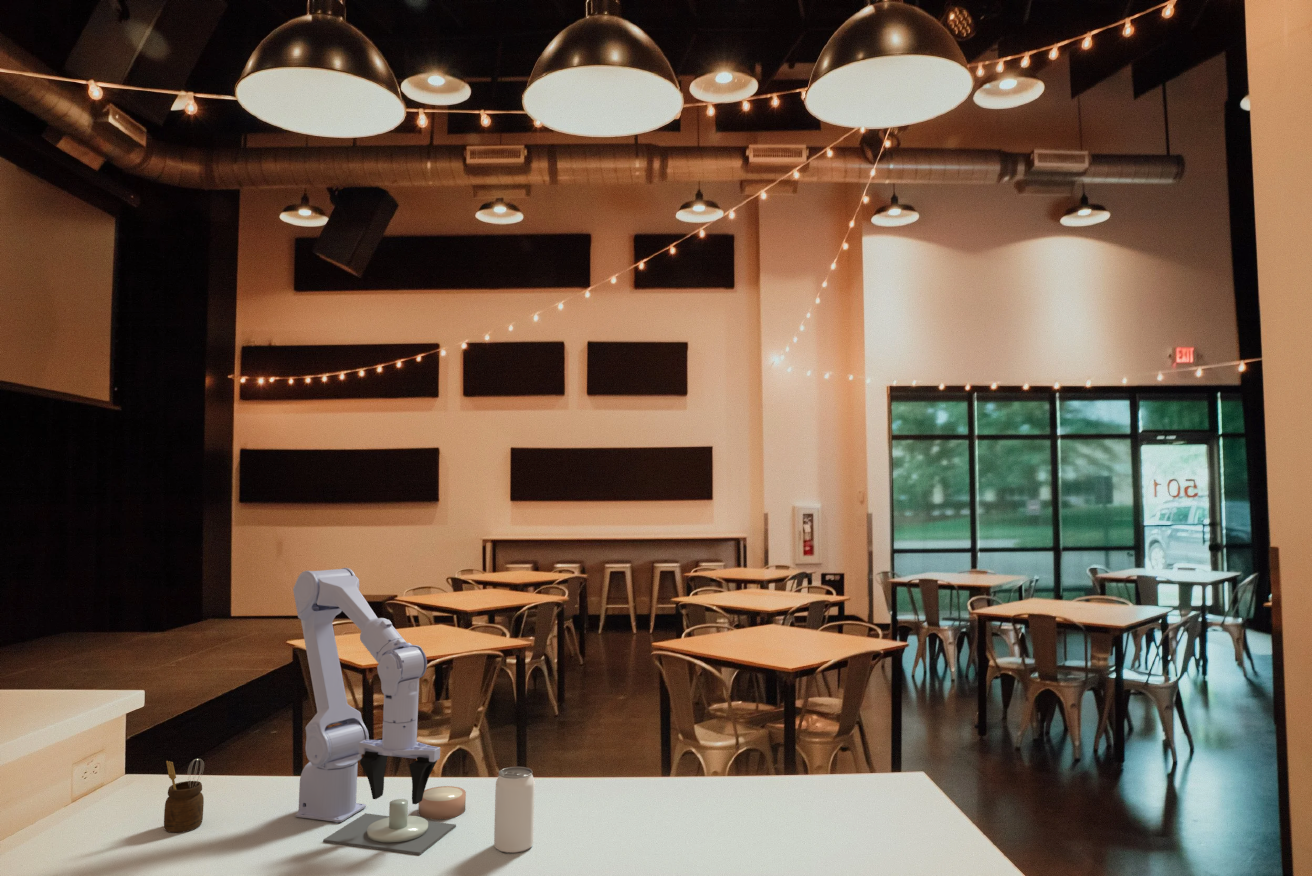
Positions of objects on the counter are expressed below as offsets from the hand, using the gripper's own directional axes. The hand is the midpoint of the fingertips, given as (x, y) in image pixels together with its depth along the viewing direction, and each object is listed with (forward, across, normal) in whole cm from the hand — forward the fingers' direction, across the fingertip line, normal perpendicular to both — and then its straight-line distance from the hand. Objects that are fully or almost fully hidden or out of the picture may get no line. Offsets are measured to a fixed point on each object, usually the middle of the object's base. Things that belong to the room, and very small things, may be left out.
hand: (397, 799), depth 143 cm
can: (+6, +21, +2) cm, 22 cm away
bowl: (+6, +2, +12) cm, 13 cm away
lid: (+5, 0, 0) cm, 5 cm away
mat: (+6, -1, 0) cm, 6 cm away
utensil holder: (+6, -37, -8) cm, 38 cm away
